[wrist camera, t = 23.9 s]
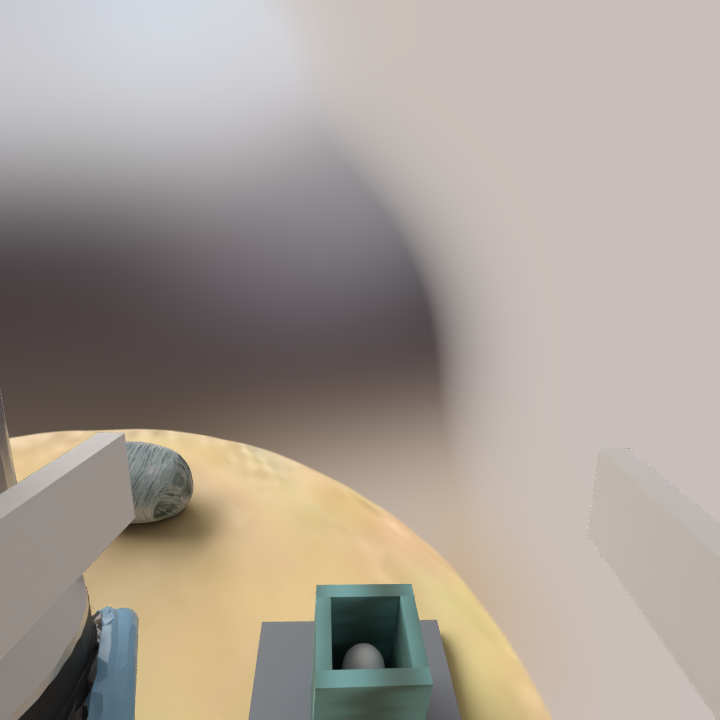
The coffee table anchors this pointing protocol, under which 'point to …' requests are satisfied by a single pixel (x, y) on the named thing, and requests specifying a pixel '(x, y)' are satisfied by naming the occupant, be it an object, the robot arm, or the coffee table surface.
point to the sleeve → (387, 634)
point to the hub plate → (297, 671)
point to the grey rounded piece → (157, 481)
